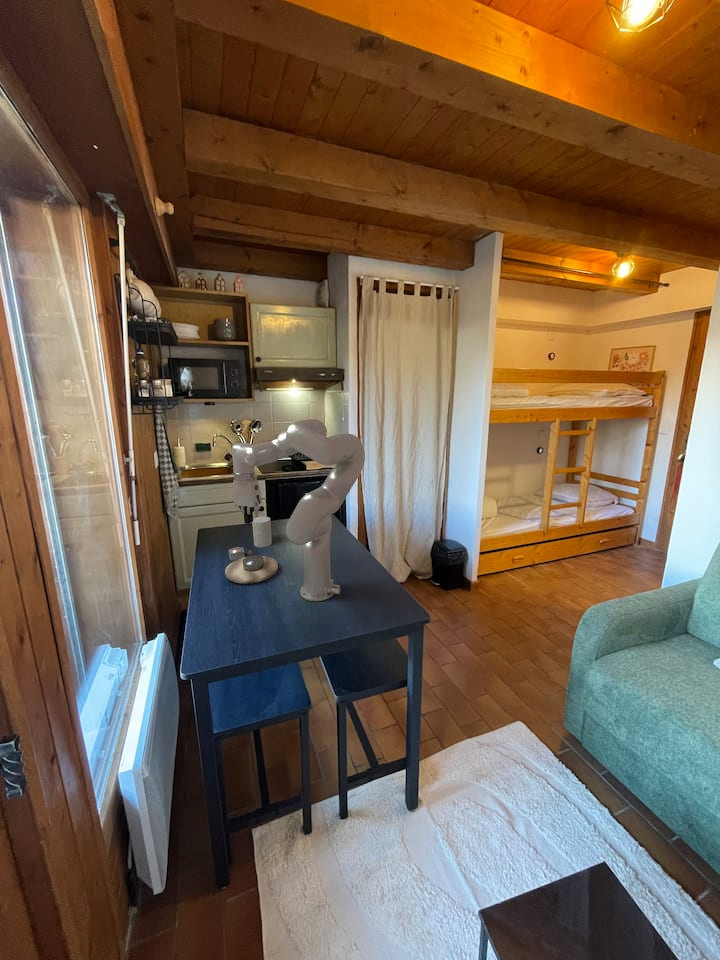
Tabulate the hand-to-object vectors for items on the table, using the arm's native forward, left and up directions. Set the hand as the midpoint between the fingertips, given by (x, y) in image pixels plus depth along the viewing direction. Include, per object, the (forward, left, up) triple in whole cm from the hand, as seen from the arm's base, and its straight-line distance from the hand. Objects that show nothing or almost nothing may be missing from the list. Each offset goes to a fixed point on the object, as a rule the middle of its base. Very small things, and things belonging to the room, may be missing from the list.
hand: (248, 522), depth 145 cm
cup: (+13, -25, -22) cm, 35 cm away
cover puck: (0, 0, -19) cm, 19 cm away
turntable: (0, 0, -20) cm, 20 cm away
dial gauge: (+15, -9, -21) cm, 27 cm away
